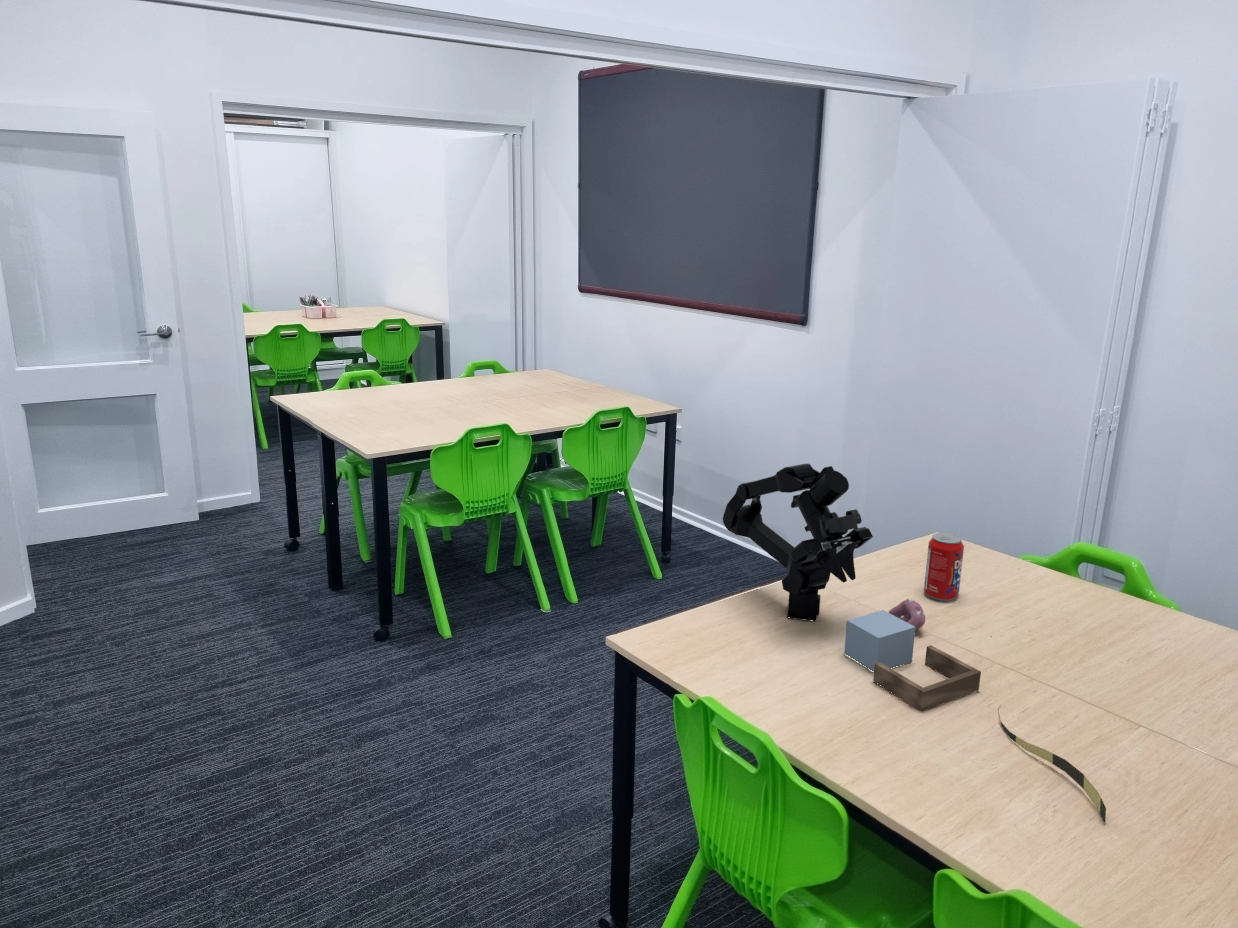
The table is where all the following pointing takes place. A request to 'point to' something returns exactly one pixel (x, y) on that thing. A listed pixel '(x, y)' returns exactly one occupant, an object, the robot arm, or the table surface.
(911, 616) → the video game controller
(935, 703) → the walnut bay
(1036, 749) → the tape
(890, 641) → the slate block
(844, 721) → the table surface
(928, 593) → the soda can
